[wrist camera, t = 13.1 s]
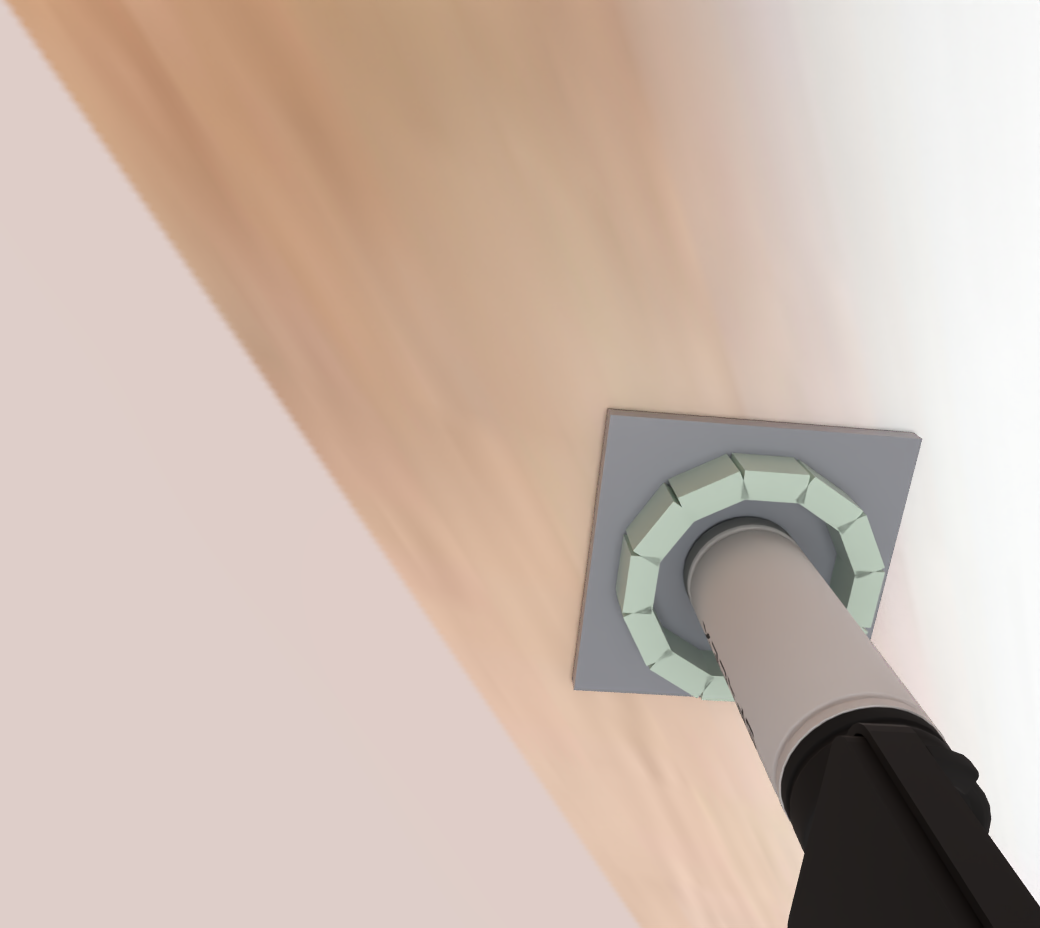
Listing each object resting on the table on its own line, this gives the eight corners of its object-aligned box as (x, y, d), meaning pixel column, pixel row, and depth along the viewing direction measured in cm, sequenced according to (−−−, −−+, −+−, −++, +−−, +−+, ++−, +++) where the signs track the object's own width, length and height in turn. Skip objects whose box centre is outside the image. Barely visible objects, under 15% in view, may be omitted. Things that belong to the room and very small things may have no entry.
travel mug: (823, 533, 48) (1043, 791, 29) (765, 635, 50) (936, 939, 31) (717, 492, 47) (875, 734, 28) (662, 599, 49) (776, 891, 30)
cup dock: (607, 408, 46) (617, 430, 43) (913, 432, 48) (945, 455, 44) (572, 679, 52) (578, 717, 49) (846, 694, 53) (871, 732, 50)
